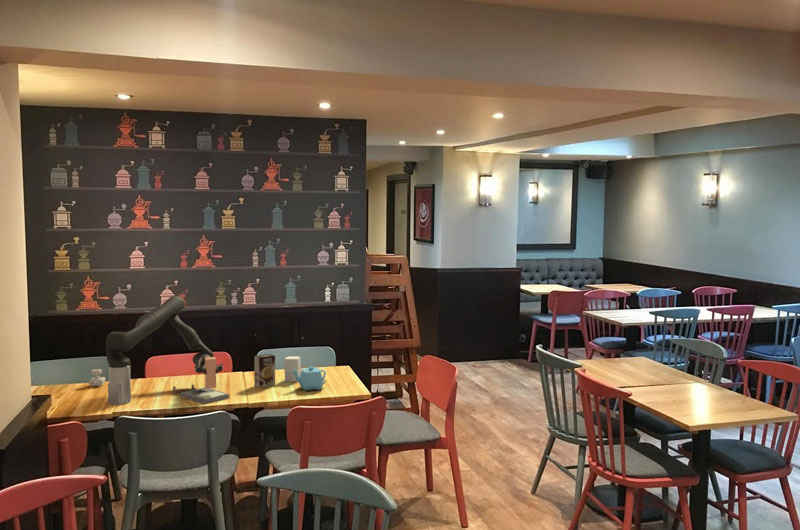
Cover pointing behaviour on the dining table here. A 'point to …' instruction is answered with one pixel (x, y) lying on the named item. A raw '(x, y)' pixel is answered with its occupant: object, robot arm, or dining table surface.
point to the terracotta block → (210, 372)
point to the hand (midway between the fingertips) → (211, 371)
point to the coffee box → (264, 371)
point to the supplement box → (292, 368)
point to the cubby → (182, 390)
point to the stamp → (97, 378)
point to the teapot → (310, 378)
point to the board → (204, 395)
